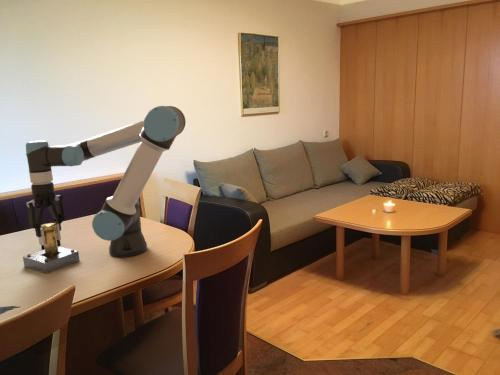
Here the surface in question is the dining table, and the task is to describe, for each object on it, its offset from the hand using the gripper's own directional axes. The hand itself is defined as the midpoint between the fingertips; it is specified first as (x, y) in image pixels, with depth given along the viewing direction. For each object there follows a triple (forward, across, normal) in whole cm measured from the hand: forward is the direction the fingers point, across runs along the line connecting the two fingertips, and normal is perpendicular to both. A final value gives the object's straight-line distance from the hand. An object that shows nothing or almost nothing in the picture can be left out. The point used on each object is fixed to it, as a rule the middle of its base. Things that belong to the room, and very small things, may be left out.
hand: (50, 241), depth 162 cm
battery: (+9, -11, -18) cm, 22 cm away
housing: (+9, 0, 0) cm, 9 cm away
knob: (+5, 0, 0) cm, 5 cm away
